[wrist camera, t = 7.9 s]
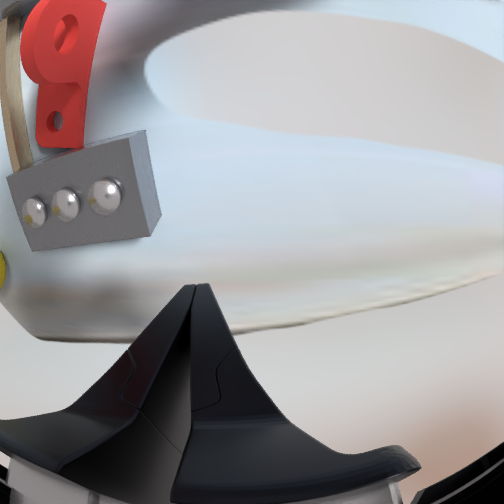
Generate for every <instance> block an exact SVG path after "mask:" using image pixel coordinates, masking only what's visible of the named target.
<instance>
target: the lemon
mask: <svg viewBox="0 0 504 504" xmlns="http://www.w3.org/2000/svg"><path fill="white" fill-rule="evenodd" d="M5 276H6V266H5V262H4V259H3V255H2V253H1V252H0V289H1V287H2V285H3V283H4V280H5Z"/></svg>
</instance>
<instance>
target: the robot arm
mask: <svg viewBox="0 0 504 504" xmlns="http://www.w3.org/2000/svg"><path fill="white" fill-rule="evenodd" d="M0 451H1V452H3V453H4V454H6V455H7V456H9V457H10V458H11V459H10V463H9V468H8V469H7V468H6V467H4V466H2V465H1V464H0V504H403V502H402V498H401V494H400V490H399V486H398V482H399V481H401V480H403V479H404V478H406V477H408V476H410V475H412V474H414V473H415V472H417V471H419V470H420V469H421V465H420V463H419V462H418V461H417V459H415V458H414V457H413V456H412V455H411V454H410V453H408V452H407V451H406V450H405V449H403V448H402V447H401V446H398V445H391V446H386V447H382V448H378V449H375V450H372V451H368V452H364V453H359V454H343V453H338V452H336V451H334V450H332V449H330V448H329V447H327V446H325V445H324V444H322V443H321V442H319V441H318V440H316V439H315V438H313V437H311V436H310V435H308V434H307V433H305V432H304V431H302V430H301V429H299V428H298V427H296V426H295V425H294V424H292V423H291V422H290V421H289V420H288V419H287V418H286V417H285V416H284V415H283V413H281V411H280V410H279V409H278V407H277V406H276V405H275V404H274V402H273V401H272V400H271V398H270V397H269V396H268V395H267V393H266V392H265V390H264V389H263V388H262V386H261V385H260V384H259V382H258V381H257V380H256V378H255V377H254V375H253V374H252V372H251V371H250V369H249V368H248V366H247V364H246V362H245V360H244V358H243V356H242V354H241V352H240V350H239V349H238V346H237V344H236V342H235V340H234V338H233V335H232V333H231V331H230V329H229V327H228V325H227V322H226V320H225V318H224V316H223V314H222V311H221V309H220V307H219V305H218V302H217V300H216V298H215V296H214V293H213V291H212V289H211V286H210V284H208V283H203V284H198V285H196V284H190V285H184V286H183V287H182V288H181V289H180V290H179V292H178V293H177V294H176V295H175V296H174V297H173V298H172V299H171V300H170V302H169V303H168V304H167V305H166V306H165V307H164V308H163V309H162V310H161V312H160V313H159V314H158V315H157V316H156V317H155V318H154V319H153V320H152V322H151V323H150V324H149V325H148V326H147V327H146V328H145V329H144V331H143V332H142V333H141V334H140V335H139V336H138V337H137V339H136V340H135V341H134V342H133V343H132V344H131V345H130V347H129V348H128V350H126V351H125V352H124V353H123V355H122V356H121V357H120V358H119V359H118V360H117V361H116V363H114V365H113V366H112V367H111V368H110V369H109V370H108V371H107V372H106V373H105V374H104V375H103V376H102V377H101V378H100V379H99V380H98V381H97V382H96V383H94V384H93V385H92V386H91V387H90V388H89V389H88V390H87V391H86V392H85V393H84V394H83V395H82V396H81V397H80V398H79V399H78V400H77V401H75V402H74V403H73V404H72V405H70V406H69V407H67V408H65V409H63V410H61V411H57V412H52V413H47V414H42V415H37V416H31V417H26V418H19V419H12V420H0ZM411 504H504V442H502V443H501V444H500V445H498V446H497V447H495V448H494V449H492V450H491V451H489V452H488V453H486V454H485V455H483V456H482V457H480V458H479V459H477V460H476V461H474V462H473V463H471V464H469V465H468V466H466V467H465V468H463V469H461V470H460V471H458V472H456V473H454V474H452V475H450V476H449V477H447V478H445V479H443V480H441V481H439V482H437V483H435V484H433V485H431V486H429V487H427V488H425V489H423V490H421V491H418V492H417V494H416V495H415V497H414V499H413V501H412V502H411Z"/></svg>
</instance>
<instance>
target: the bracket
mask: <svg viewBox="0 0 504 504" xmlns="http://www.w3.org/2000/svg"><path fill="white" fill-rule="evenodd" d="M106 4H107V3H105V2H103V1H101V0H41V1H39V2H38V3H37V5H36V6H35V7H34V8H33V10H32V11H31V13H30V14H29V16H28V18H27V20H26V23H25V25H24V28H23V32H22V36H21V43H20V55H21V61H22V65H23V68H24V70H25V72H26V74H27V76H28V77H29V78H30V79H31V80H32V81H33V82H35V83H37V84H39V90H38V100H37V114H36V140H37V142H38V144H39V145H40V146H41V147H45V148H79V147H81V146H83V138H84V122H85V111H86V102H87V93H88V86H89V79H90V73H91V67H92V61H93V56H94V51H95V46H96V42H97V38H98V33H99V29H100V25H101V22H102V18H103V15H104V11H105V8H106ZM57 111H58V112H60V113H61V114H62V116H63V126H62V128H61V130H60V131H59V130H57V129H56V128H55V127H54V124H53V119H54V115H55V114H56V112H57Z"/></svg>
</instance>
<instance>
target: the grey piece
mask: <svg viewBox="0 0 504 504" xmlns="http://www.w3.org/2000/svg"><path fill="white" fill-rule="evenodd" d="M39 1H41V0H0V18H4V19H3V20H1V21H0V99H1V108H2V116H3V123H4V130H5V136H6V141H7V146H8V151H9V156H10V160H11V164H12V169H13V172H14V173H12V174H11V175H9V176H7V177H6V178H7V181H8V185H9V188H10V192H11V195H12V198H13V202H14V205H15V208H16V211H17V214H18V216H19V219H20V222H21V225H22V227H23V230H24V233H25V235H26V238H27V240H28V243H29V245H30V248H31V250H32V252H33V251H40V250H47V249H54V248H61V247H68V246H76V245H83V244H91V243H99V242H107V241H115V240H124V239H132V238H141V237H150V236H151V234H152V232H153V231H154V229H155V227H156V225H157V223H158V221H159V219H160V217H161V210H160V206H159V201H158V196H157V191H156V187H155V182H154V176H153V171H152V166H151V160H150V155H149V149H148V143H147V136H146V130H142V131H138V132H133V133H129V134H124V135H120V136H116V137H112V138H108V139H104V140H101V141H97V142H93V143H90V144H86V145H83V146H81V147H79V148H73V149H70V150H67V151H64V152H61V153H58V154H55V155H52V156H50V157H47V158H44V159H41V160H39V161H36V162H33V159H32V155H31V150H30V145H29V140H28V135H27V129H26V123H25V117H24V110H23V101H22V92H21V80H20V55H19V44H20V20H21V17H22V16H24V15H25V14H27V13H28V12H30V11H31V10H33V8H34V7H35V6H36V5H37V3H38V2H39Z"/></svg>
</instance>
